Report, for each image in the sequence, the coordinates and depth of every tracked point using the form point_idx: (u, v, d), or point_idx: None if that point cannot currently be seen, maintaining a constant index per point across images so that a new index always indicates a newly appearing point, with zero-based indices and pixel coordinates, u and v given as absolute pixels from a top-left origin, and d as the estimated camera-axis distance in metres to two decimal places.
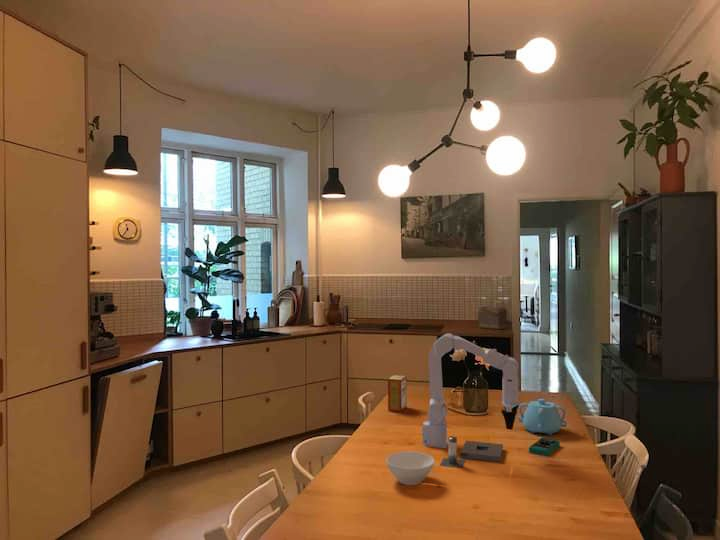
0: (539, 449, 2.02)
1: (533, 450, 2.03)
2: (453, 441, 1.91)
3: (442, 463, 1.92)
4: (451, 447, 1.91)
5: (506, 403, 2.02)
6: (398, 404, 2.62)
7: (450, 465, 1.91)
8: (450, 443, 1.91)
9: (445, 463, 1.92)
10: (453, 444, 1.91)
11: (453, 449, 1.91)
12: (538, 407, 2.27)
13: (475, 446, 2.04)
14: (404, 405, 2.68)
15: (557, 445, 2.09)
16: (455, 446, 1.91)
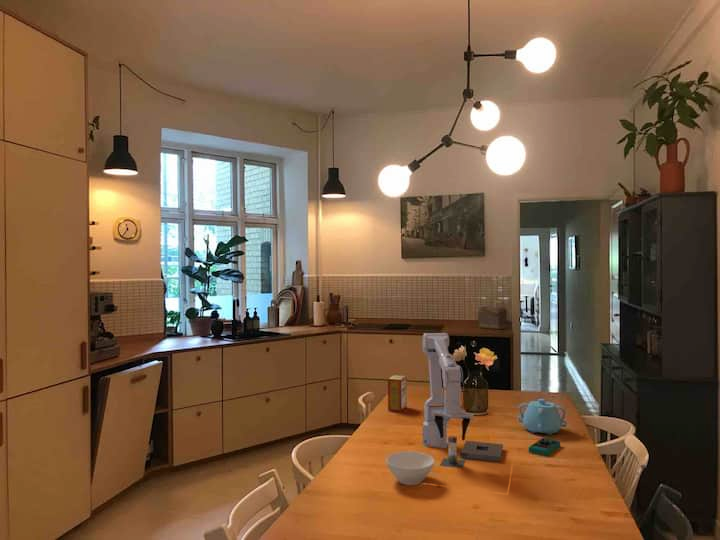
0: (539, 449, 2.02)
1: (533, 450, 2.03)
2: (453, 441, 1.91)
3: (442, 463, 1.92)
4: (451, 447, 1.91)
5: None
6: (398, 404, 2.62)
7: (450, 465, 1.91)
8: (450, 443, 1.91)
9: (445, 463, 1.92)
10: (453, 444, 1.91)
11: (453, 449, 1.91)
12: (538, 407, 2.27)
13: (475, 446, 2.04)
14: (404, 405, 2.68)
15: (557, 445, 2.09)
16: (455, 446, 1.91)
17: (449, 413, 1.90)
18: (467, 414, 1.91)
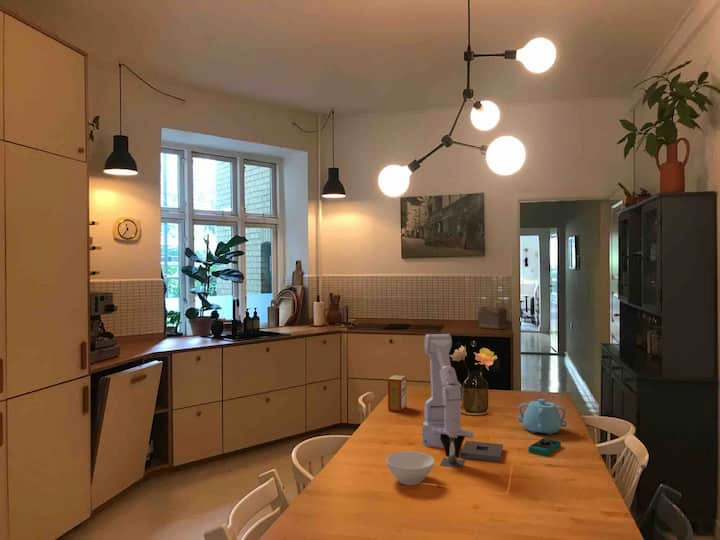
0: (538, 449, 2.02)
1: (532, 450, 2.04)
2: (453, 441, 1.91)
3: (442, 463, 1.92)
4: (451, 447, 1.91)
5: None
6: (398, 404, 2.62)
7: (450, 465, 1.91)
8: (450, 443, 1.91)
9: (445, 463, 1.92)
10: (453, 444, 1.91)
11: (453, 449, 1.91)
12: (538, 407, 2.27)
13: (475, 446, 2.04)
14: (404, 405, 2.68)
15: (558, 445, 2.09)
16: (455, 446, 1.91)
17: (449, 431, 1.90)
18: (467, 432, 1.91)
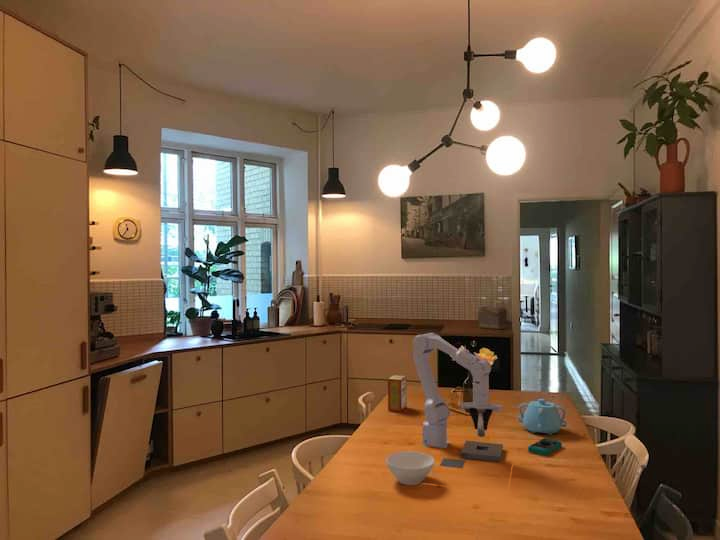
0: (538, 449, 2.02)
1: (532, 450, 2.04)
2: (481, 414, 2.00)
3: (442, 463, 1.92)
4: (479, 421, 2.00)
5: None
6: (398, 404, 2.62)
7: (450, 465, 1.91)
8: (478, 416, 2.00)
9: (445, 463, 1.92)
10: (481, 418, 2.00)
11: (481, 422, 2.00)
12: (538, 407, 2.27)
13: (475, 446, 2.04)
14: (404, 405, 2.68)
15: (558, 446, 2.08)
16: (483, 419, 2.00)
17: (478, 405, 1.99)
18: (495, 406, 1.99)
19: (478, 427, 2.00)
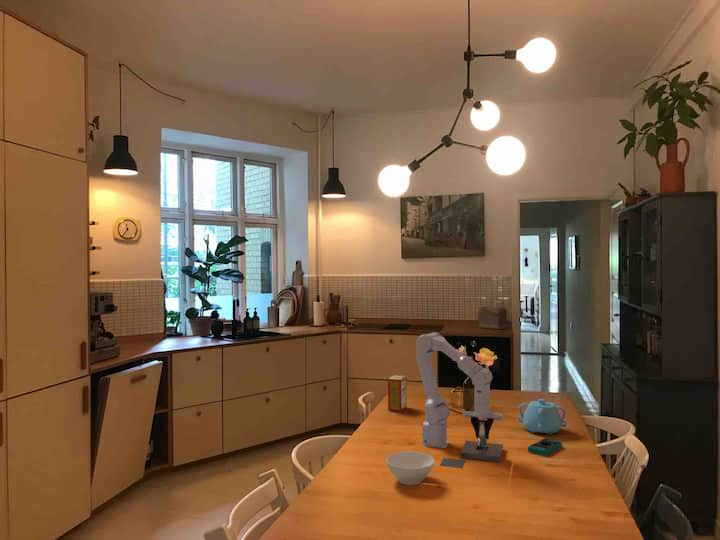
0: (537, 449, 2.02)
1: (531, 450, 2.04)
2: (482, 423, 2.00)
3: (442, 463, 1.92)
4: (481, 430, 2.00)
5: None
6: (398, 404, 2.62)
7: (450, 465, 1.91)
8: (480, 425, 2.00)
9: (445, 463, 1.92)
10: (482, 427, 2.00)
11: (483, 431, 2.00)
12: (538, 407, 2.27)
13: (475, 446, 2.04)
14: (404, 405, 2.68)
15: (559, 446, 2.08)
16: (484, 428, 2.00)
17: (479, 414, 1.99)
18: (496, 415, 2.00)
19: (479, 436, 2.01)
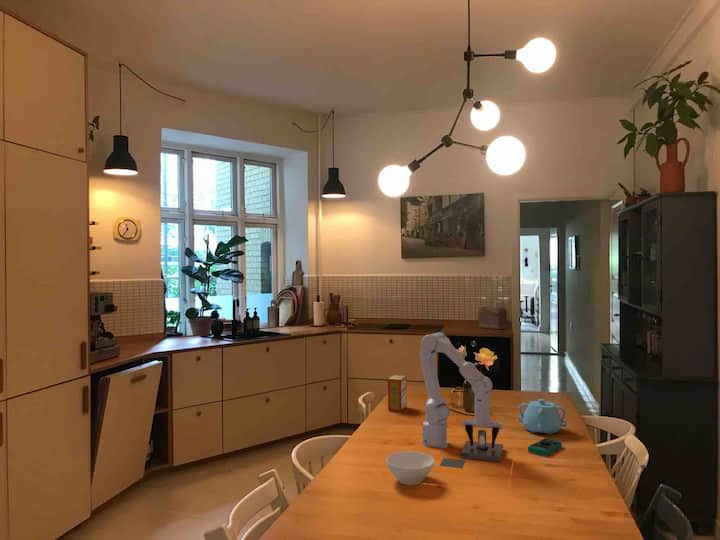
0: (537, 449, 2.02)
1: (531, 450, 2.04)
2: (482, 434, 2.00)
3: (442, 463, 1.92)
4: (481, 440, 2.00)
5: None
6: (398, 404, 2.62)
7: (450, 465, 1.91)
8: (480, 436, 2.00)
9: (445, 463, 1.92)
10: (482, 437, 2.00)
11: (483, 442, 2.00)
12: (538, 407, 2.27)
13: (475, 446, 2.04)
14: (405, 405, 2.68)
15: (559, 446, 2.08)
16: (484, 439, 2.00)
17: (479, 422, 1.99)
18: (496, 423, 2.00)
19: (479, 447, 2.01)
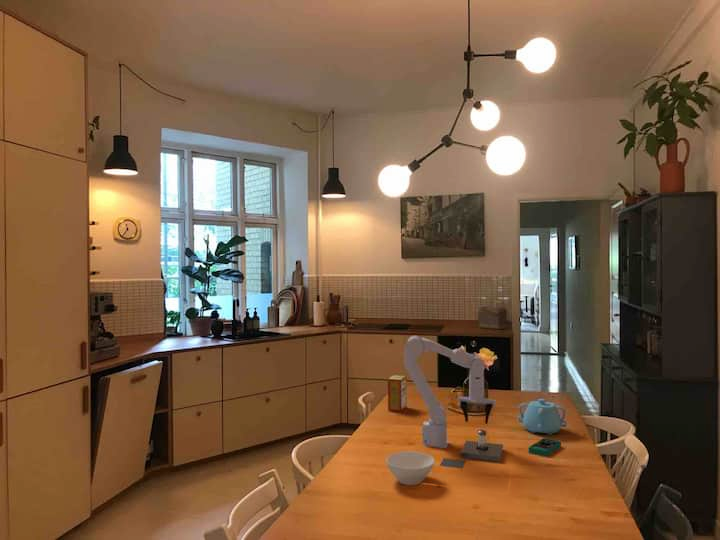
0: (538, 449, 2.02)
1: (532, 450, 2.03)
2: (482, 434, 2.00)
3: (442, 463, 1.92)
4: (481, 440, 2.00)
5: None
6: (398, 404, 2.62)
7: (450, 465, 1.91)
8: (480, 436, 2.01)
9: (445, 463, 1.92)
10: (482, 437, 2.00)
11: (483, 442, 2.00)
12: (538, 407, 2.27)
13: (475, 446, 2.04)
14: (404, 405, 2.68)
15: (558, 446, 2.08)
16: (485, 439, 2.00)
17: (473, 399, 2.10)
18: (490, 400, 2.10)
19: (479, 447, 2.01)
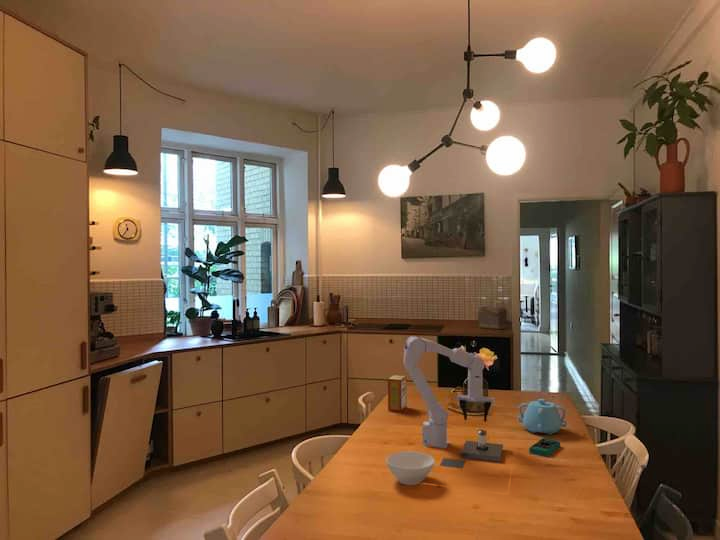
0: (539, 449, 2.02)
1: (533, 451, 2.03)
2: (482, 434, 2.00)
3: (442, 463, 1.92)
4: (481, 440, 2.00)
5: None
6: (398, 404, 2.62)
7: (450, 465, 1.91)
8: (480, 436, 2.01)
9: (445, 463, 1.92)
10: (482, 437, 2.00)
11: (483, 442, 2.00)
12: (538, 407, 2.27)
13: (475, 446, 2.04)
14: (404, 405, 2.68)
15: (558, 446, 2.09)
16: (485, 439, 2.00)
17: (472, 397, 2.12)
18: (488, 398, 2.13)
19: (479, 447, 2.01)
